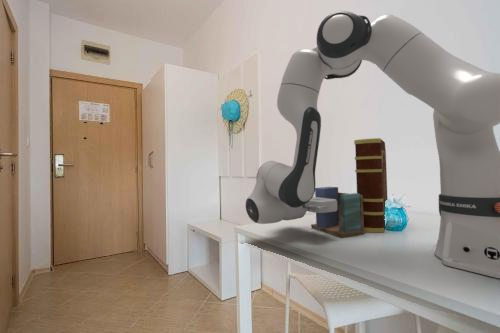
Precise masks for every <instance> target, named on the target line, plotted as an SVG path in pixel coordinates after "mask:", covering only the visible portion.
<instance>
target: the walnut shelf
mask: <svg viewBox="0 0 500 333" xmlns="http://www.w3.org/2000/svg"><path fill="white" fill-rule="evenodd" d="M338 199H339V205H338V215H339V225H337V226H332V227H328V228H323V227H319V226H316V223H312V224H310V225H311V226H310V228H311V227H312V228H311V229H313V228H314V230H316V229H317V231H319V230H320V232H322V233H326V234H329V235H331V236H334V237H337V238H341V239H343V238H349V237H355V236H359V235H360V236H361V235H364V234H365V232H364V216H363V195H360V194H358V193H357V192H353V193H345V192H339V191H338Z"/></svg>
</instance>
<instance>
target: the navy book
mask: <svg viewBox="0 0 500 333" xmlns="http://www.w3.org/2000/svg"><path fill="white" fill-rule="evenodd" d="M338 192H339V187H338V186H322V187H315V193H314V195H315V196H314V197H320V198H329V199H336V200H337V211H335V212H328V213H315V220H316V221H315V224H316V226H319V227H323V228H328V227H332V226H337V225H339V215H338V205H339V199H338Z"/></svg>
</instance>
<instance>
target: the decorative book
mask: <svg viewBox="0 0 500 333" xmlns="http://www.w3.org/2000/svg"><path fill="white" fill-rule="evenodd" d="M353 145H355V147H354V148H355V157H354V160H355V169H354V171H355V174H356V175H355V176H356V193H358V194H360V195H363V216H364V233H370V234H371V233H373V234H374V233H375V234H379V233H380V234H381V233H384V232H385V230H386V227H385V220H384V219H385V216H384V215H385V201H386V200H388V177H387V152H386V151H387V150H386V142H385V141H384V140H383V139H382V138H381V137H380V138H379V137H378V138H377V137H376V138H374V137H373V138H362V139H361V138H360V139H355V140H353Z"/></svg>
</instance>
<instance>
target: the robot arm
mask: <svg viewBox="0 0 500 333" xmlns="http://www.w3.org/2000/svg"><path fill="white" fill-rule="evenodd" d="M316 33H317V34H316V47H315V48H302V49H298V50H295V52H294V53H293V54H292V55H291V57H290V58H289V60H288V63H287V65H286V67H285V70H284V73H283V76H282V79H281V83H280V85H279V90H278V94H277V100H276V106H277V109H278V112H279V114H280V115H281V116H282V117H283V118H284V120H286V121H287V122H288V123H290V124H291V125H292V127H293V128H294V129H295V130H294V131H295V132H296V141H295V148H294V149H295V150H294V155H293V161H292V162H293V163H292V165H291V166H290V165H286V164H284V163H281V162H278V161H275V160H269V161H266V162H264V163H263V164H262V165H260V167H259V168H258V170H257V174H256V179H255V180H256V182H255V184H254V188H253V189H252V192H251V193H250V195H249V196H248V197H247V198H246V200H245V211H246V214H247V215H248V218H249V219H250V220H251V221H252V222H254V223H255V224H259V225H265V224H268V225H269V224H275V223H279V222H281V221H293V220H297V219H302V218H303V217H304V216H305V215H306V213H307V212H311V213H314V214H316V213H328V212H335V211H337V200H336V199H329V198H320V197H315V196H314V195H315V188H316V168H317V162H318V161H317V159H318V152H319V145H320V139H321V138H320V137H321V130H322V117H321V114H320V112H319V111H318V99H319V95H320V91H321V87H322V83H323V81H324V79H325V80H333V79H334V80H335V79H344V78H349V77H350V76H352V75H354V74H355V73H356V72H357V70H359V68H360V66H361V64H362V62H363V61H365V62H366V61H367V62H370V63H372V64H373V65H376V66H377V68H378V69H379V70H380V71H382V72H383V73H384V74H385V75H386V76H387V77H388V78H390V79H391V80H392V81H393V82H394V83H395V84H396V85H397V86H398V87H400V88H401V89H402V91H404V92H405V93H406V94H408V95H410V96H413V97H414V98H416V99H418V100H420V101H421V102H423V103H424V104H426V105H427V106H429V107H431V108H432V110H433V114H432V120H433V128H434V134H435V136H434V137H435V143H436V149H437V153H438V154H437V155H438V160H439V178H440V181H439V182H440V194H438V212H439V216H440V221H439V222H440V223H439V229H438V230H439V231H438V238H437V241H436V242H437V243H436V245H435V249H434V250H433V251H434V252H433V253H434V255H435V256H436V257H437V258H438V259H440V260H441V262H442V264H443V265H445V266H448V267H452V268H456V269H460V270H463V271H467V272H472V273H476V274H480V275H483V276H487V277H492V278H496V279H500V149H499V145H498V142H497V140H496V139H497V138H496V135H495V132H494V127H496V126H498V125H499V124H500V73H499V72H491V71H487V70H485V69H482V68H480V67H478V66H476V65H474V64H472V63H470V62H467V61H465V60H463V59H461V58H459V57H457V56H455V55H454V54H452V53H450V52H449V51H448V50H445V49H444V48H443V47H442V46H441V45H439V44H438V43H437V42H435V41H434V40H433V39H432V38H430V37H429V36H427V34H425V33H424V32H422V31H421V30H420V29H418V28H417V27H416V26H414V25H413V24H412V23H410V22H407V21H405V20H404V19H401V18H399V16H395V15H392V14H388V13H387V14H383V15H379V16H378V17H376V18H375V19H374V20H372V21H370V19H369V18H368V17H367V16H365V15H361V14H360V15H359V14H358V15H357V14H356V13H353V12H351V11H349V10H347V11H346V10H339V11H338V10H337V11H334V12H332V13H331V12H330V14H328V15H327V16H326V17H324V18H323V20H322V21H321V23H320V24H319V26H318V28H317V32H316Z"/></svg>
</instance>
